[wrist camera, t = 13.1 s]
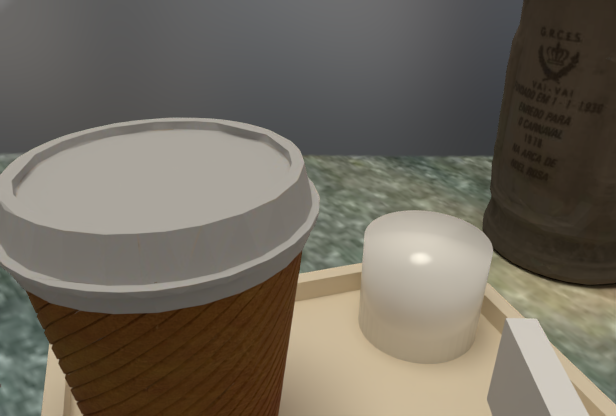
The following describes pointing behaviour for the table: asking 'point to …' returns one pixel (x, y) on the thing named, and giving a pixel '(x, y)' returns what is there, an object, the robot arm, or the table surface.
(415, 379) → the serving tray
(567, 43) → the beer stein
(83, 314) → the disposable coffee cup
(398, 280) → the white rounded cylinder
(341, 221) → the table surface
